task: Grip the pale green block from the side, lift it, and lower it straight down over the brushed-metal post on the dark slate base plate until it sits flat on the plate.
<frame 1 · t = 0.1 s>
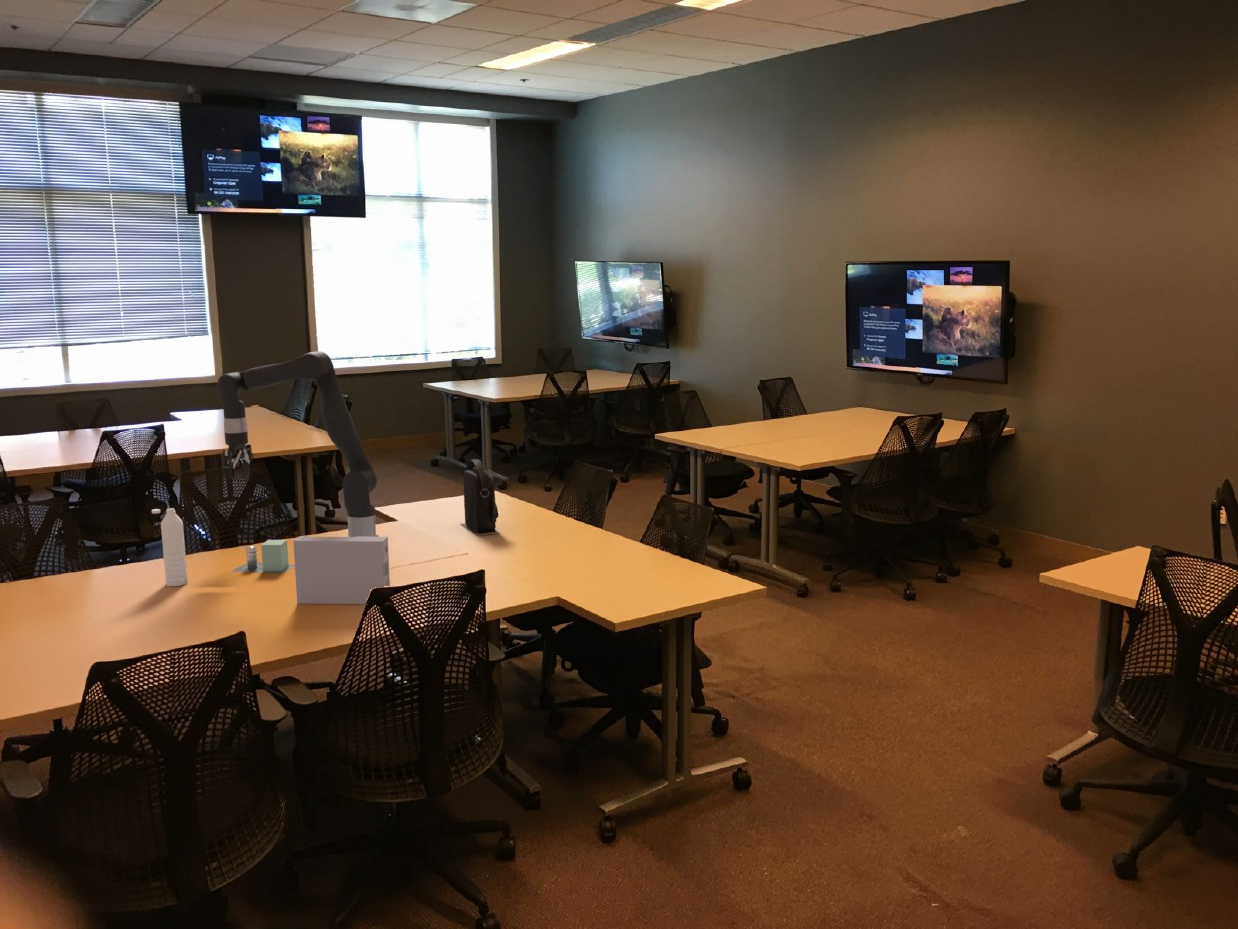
hand: (239, 476, 346), 29 cm above the table, tool pointing down, fingers open, 8 cm apart
water bottle: (173, 585, 319), on the table
pale green block: (275, 568, 332), point 1 cm above the table, touching post stand
post stand: (265, 572, 333), on the table
game console: (344, 602, 302), on the table
shoulder bag: (479, 529, 391), on the table
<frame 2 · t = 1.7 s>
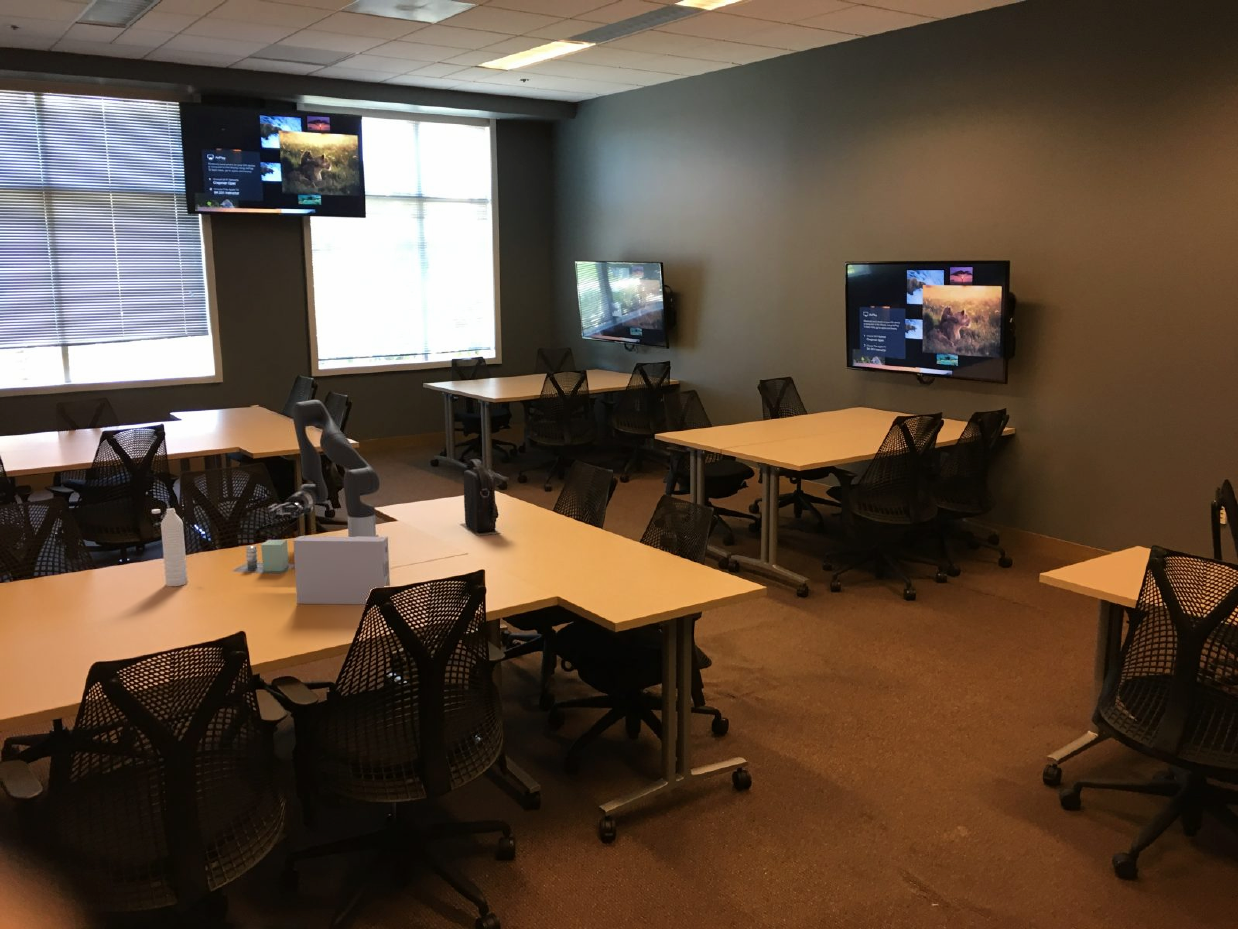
hand: (283, 514, 340), 18 cm above the table, tool horizontal, fingers open, 8 cm apart
nothing on the table moved.
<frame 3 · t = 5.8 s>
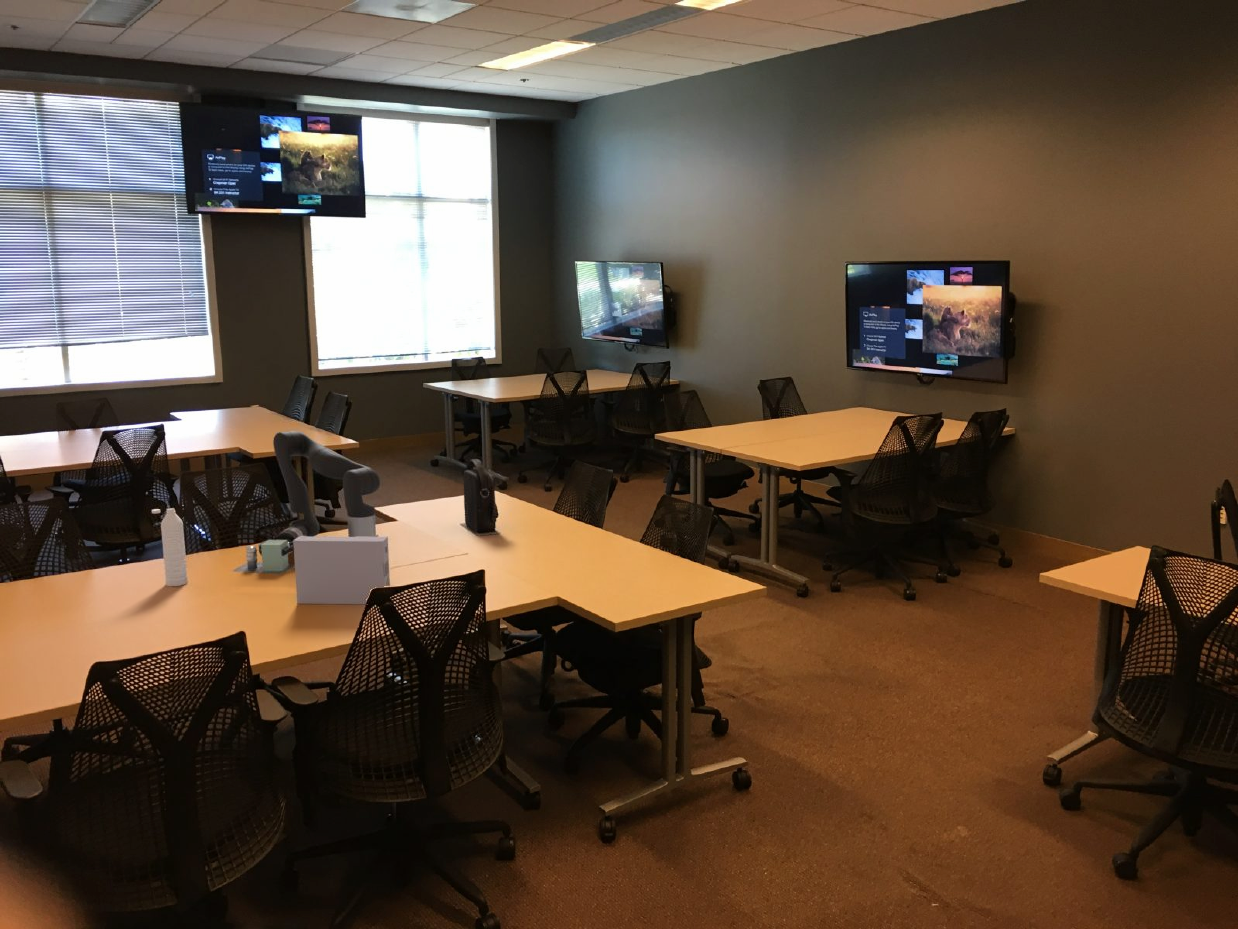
hand: (272, 553, 328), 7 cm above the table, tool horizontal, fingers closed on pale green block, 6 cm apart
pale green block: (275, 568, 332), point 1 cm above the table, touching gripper, post stand
everything else where it was.
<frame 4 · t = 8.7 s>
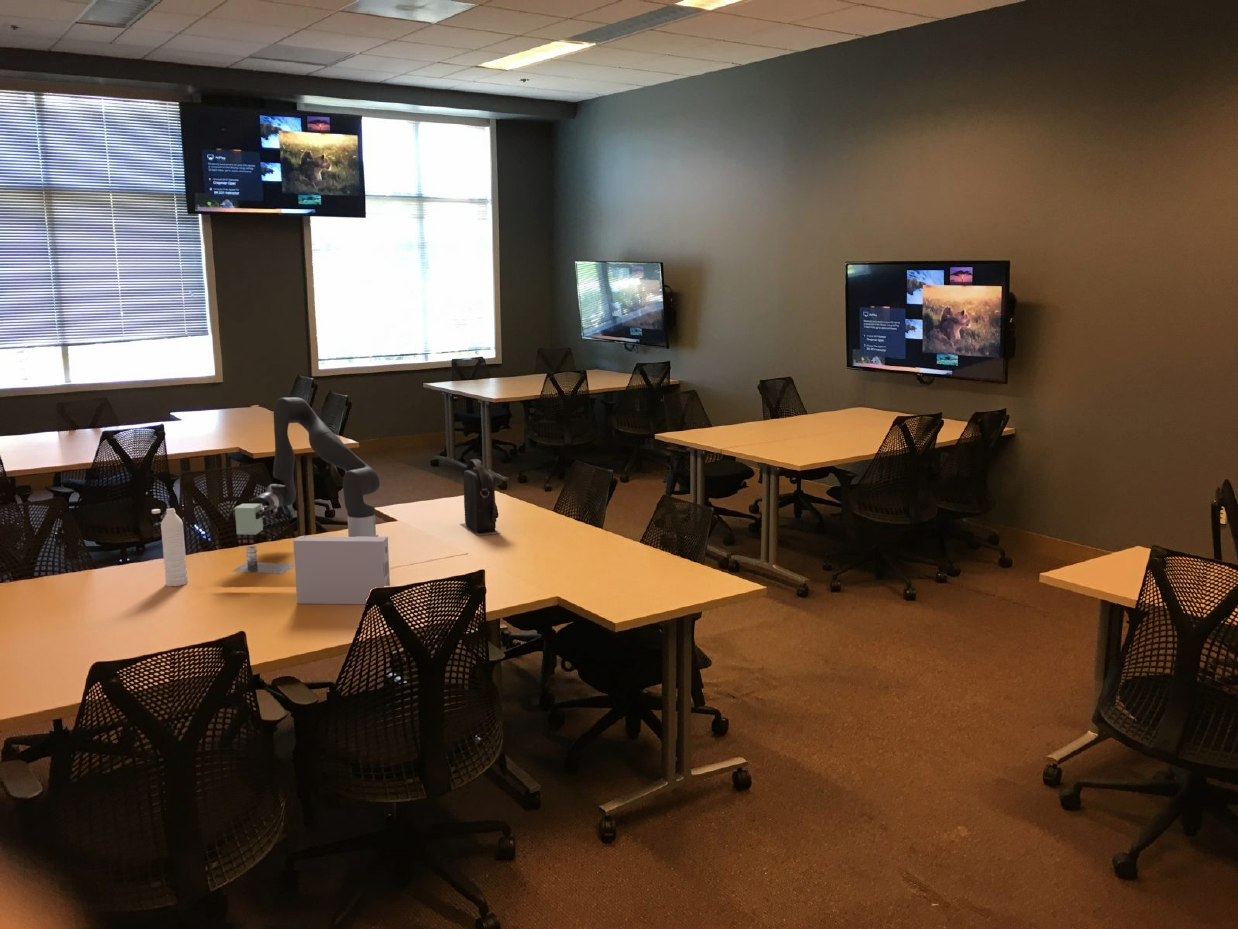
hand: (246, 516, 328), 20 cm above the table, tool horizontal, fingers closed on pale green block, 6 cm apart
pale green block: (250, 532, 331), point 14 cm above the table, touching gripper
everything else where it was.
when the fingers open (9 cm above the table, at t = 11.7 s): pale green block drops 1 cm, resting on post stand.
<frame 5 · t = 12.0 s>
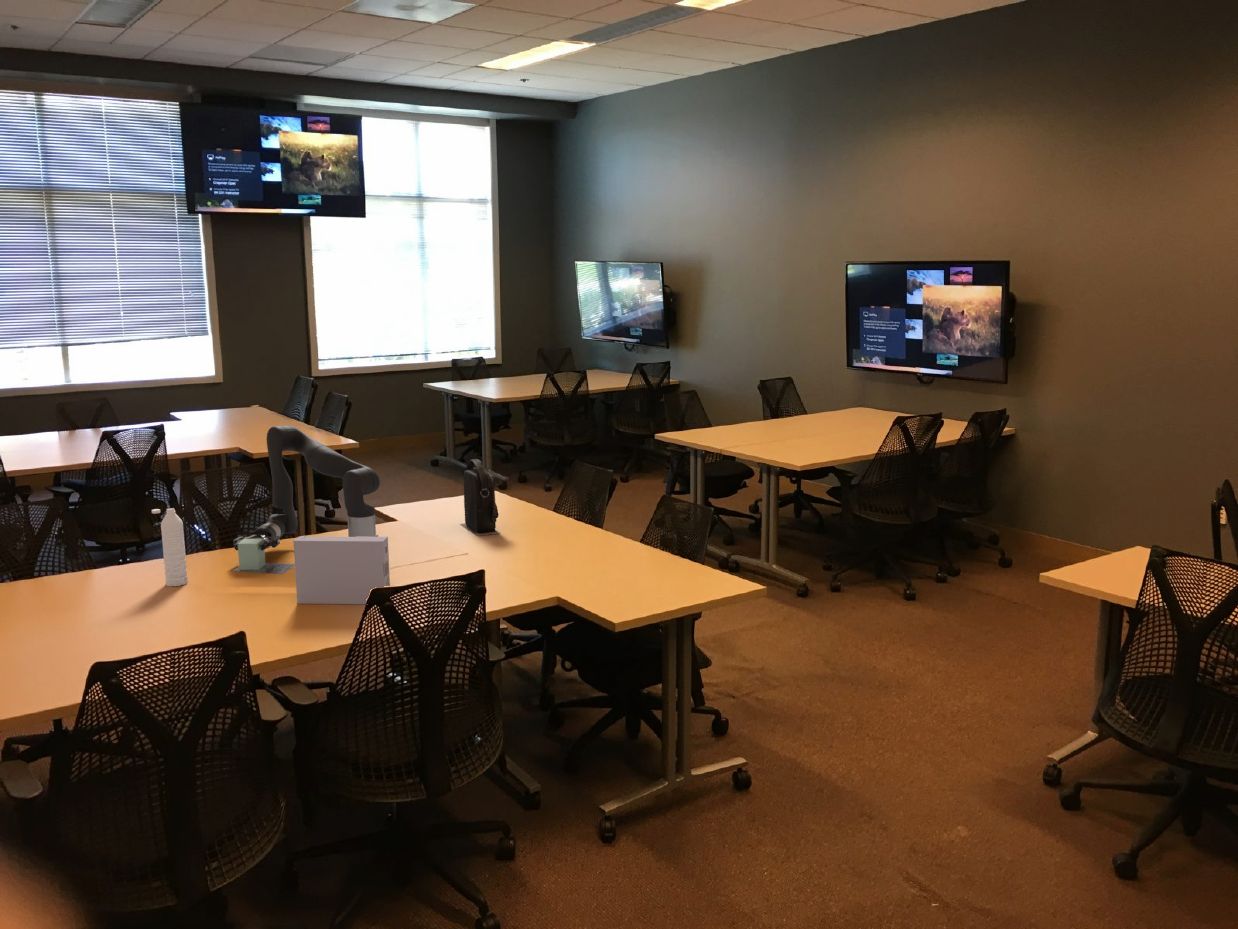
hand: (249, 547, 330), 9 cm above the table, tool horizontal, fingers open, 8 cm apart
pale green block: (252, 567, 333), point 1 cm above the table, touching post stand
everything else where it was.
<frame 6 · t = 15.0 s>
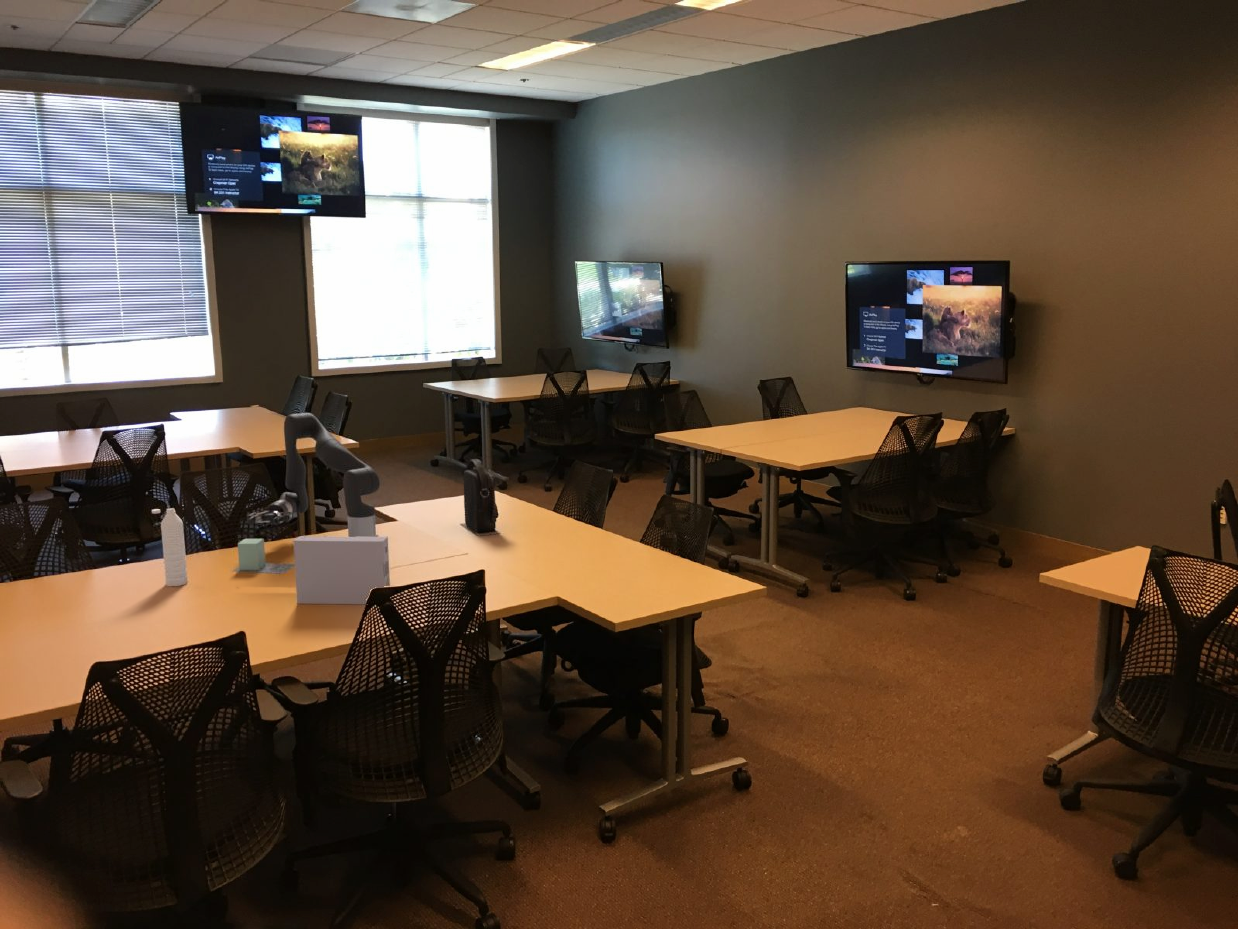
hand: (262, 521, 341), 14 cm above the table, tool horizontal, fingers open, 8 cm apart
nothing on the table moved.
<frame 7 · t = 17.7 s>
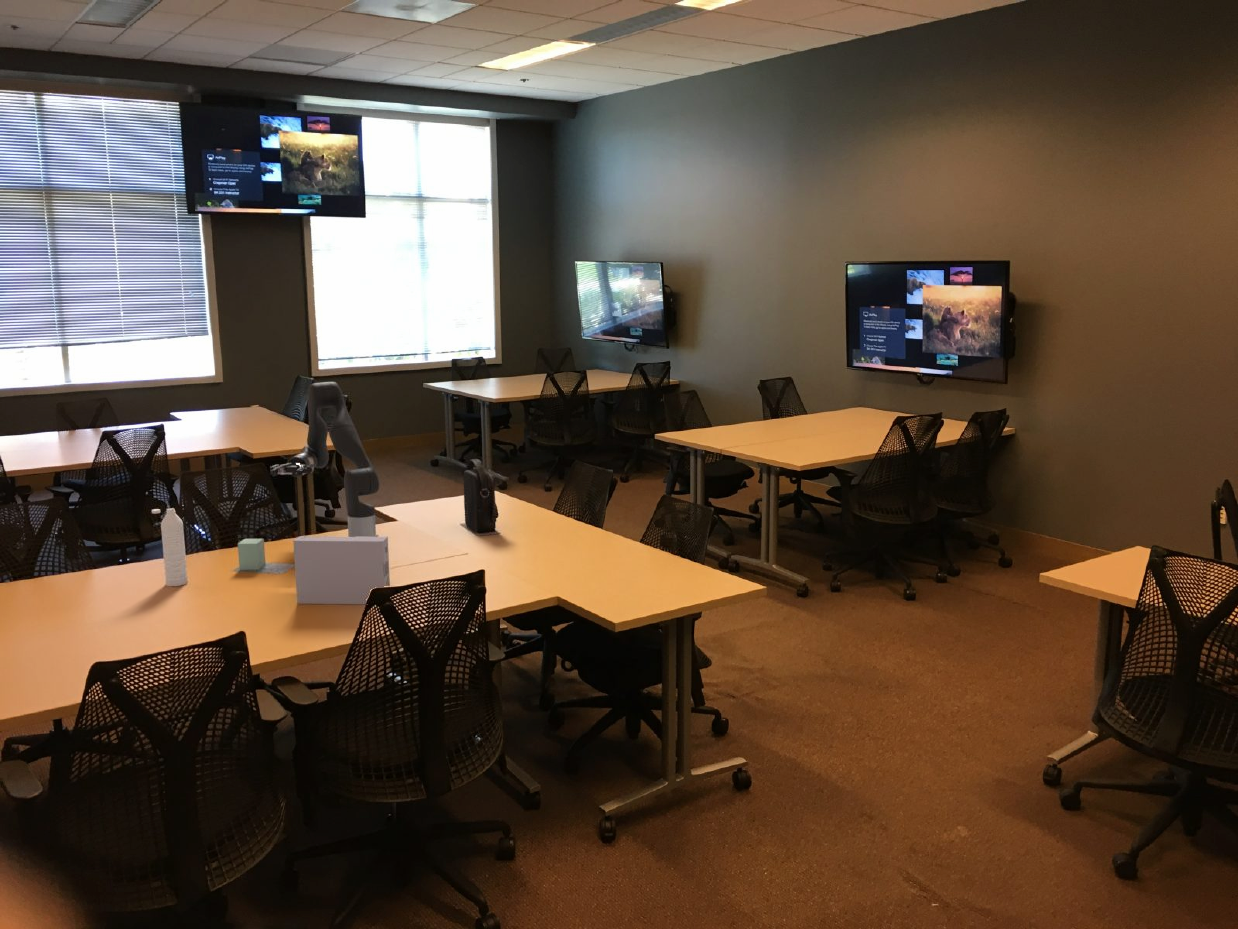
hand: (285, 473, 347), 30 cm above the table, tool horizontal, fingers open, 8 cm apart
nothing on the table moved.
at the end: pale green block 4.5 cm from the post stand (horizontally); pale green block point 1.5 cm above the table; pale green block tilted 0° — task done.
